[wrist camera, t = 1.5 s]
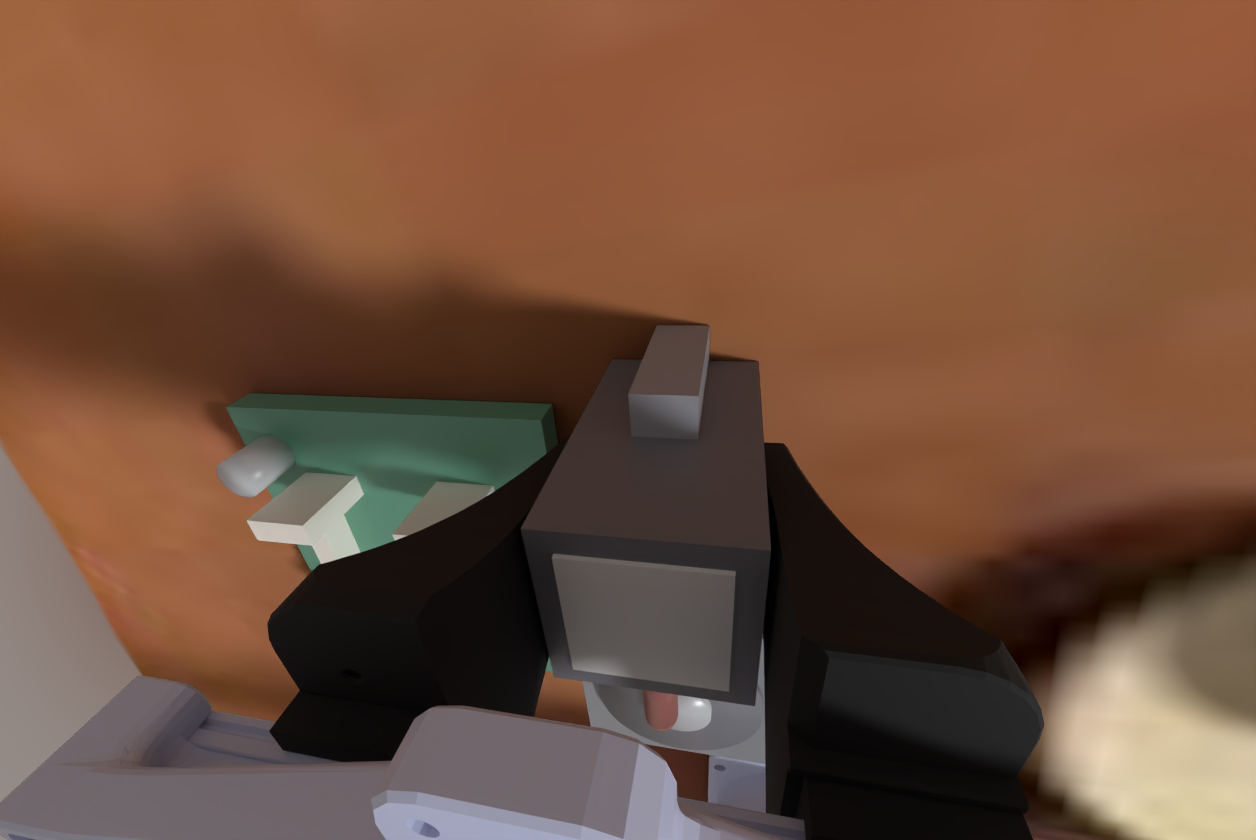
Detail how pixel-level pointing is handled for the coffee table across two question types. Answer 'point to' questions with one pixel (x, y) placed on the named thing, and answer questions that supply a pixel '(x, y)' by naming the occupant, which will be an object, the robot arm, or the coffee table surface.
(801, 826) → the robot arm
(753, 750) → the grey dished knob block
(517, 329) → the coffee table surface
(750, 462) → the plug
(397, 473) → the board
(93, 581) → the coffee table surface
